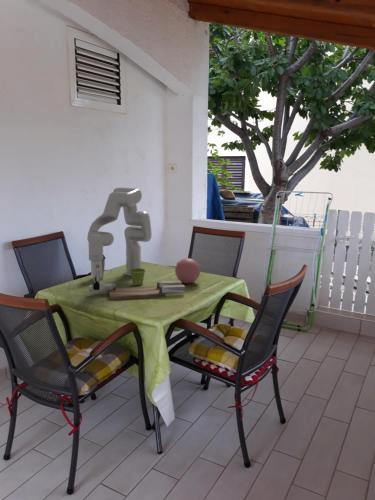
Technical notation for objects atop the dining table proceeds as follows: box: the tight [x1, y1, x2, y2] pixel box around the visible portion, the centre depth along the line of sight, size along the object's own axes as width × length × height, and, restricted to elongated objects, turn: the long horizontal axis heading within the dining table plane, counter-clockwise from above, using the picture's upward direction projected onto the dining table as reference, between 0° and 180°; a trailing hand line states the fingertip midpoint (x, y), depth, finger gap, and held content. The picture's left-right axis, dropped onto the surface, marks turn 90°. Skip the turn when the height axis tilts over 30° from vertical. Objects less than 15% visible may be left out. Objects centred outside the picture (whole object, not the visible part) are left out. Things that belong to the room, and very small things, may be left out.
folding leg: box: [88, 282, 117, 293], centre depth 225 cm, size 15×3×3 cm, turn 110°
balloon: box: [174, 257, 201, 284], centre depth 251 cm, size 15×20×15 cm
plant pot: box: [130, 267, 146, 286], centre depth 245 cm, size 9×9×9 cm
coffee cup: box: [99, 254, 107, 281], centre depth 253 cm, size 9×9×15 cm
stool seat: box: [108, 280, 186, 301], centre depth 228 cm, size 14×42×5 cm, turn 104°
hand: (96, 289), depth 221 cm, fingers closed
